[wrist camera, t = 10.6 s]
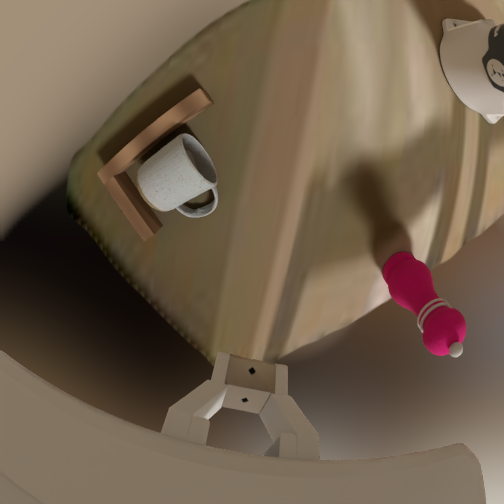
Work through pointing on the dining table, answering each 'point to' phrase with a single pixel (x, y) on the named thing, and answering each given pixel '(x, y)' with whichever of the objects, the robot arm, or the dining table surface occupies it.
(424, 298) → the pepper mill
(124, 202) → the walnut stop
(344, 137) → the dining table surface
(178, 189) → the ceramic mug
